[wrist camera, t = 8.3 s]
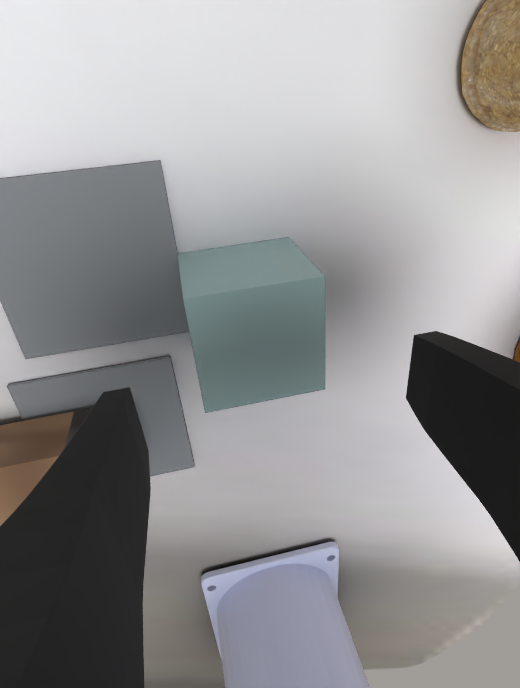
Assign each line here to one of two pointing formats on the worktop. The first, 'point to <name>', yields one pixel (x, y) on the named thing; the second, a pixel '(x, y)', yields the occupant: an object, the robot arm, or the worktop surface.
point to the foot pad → (142, 377)
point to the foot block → (254, 322)
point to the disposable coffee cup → (517, 353)
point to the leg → (31, 454)
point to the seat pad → (89, 258)
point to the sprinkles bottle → (494, 66)
